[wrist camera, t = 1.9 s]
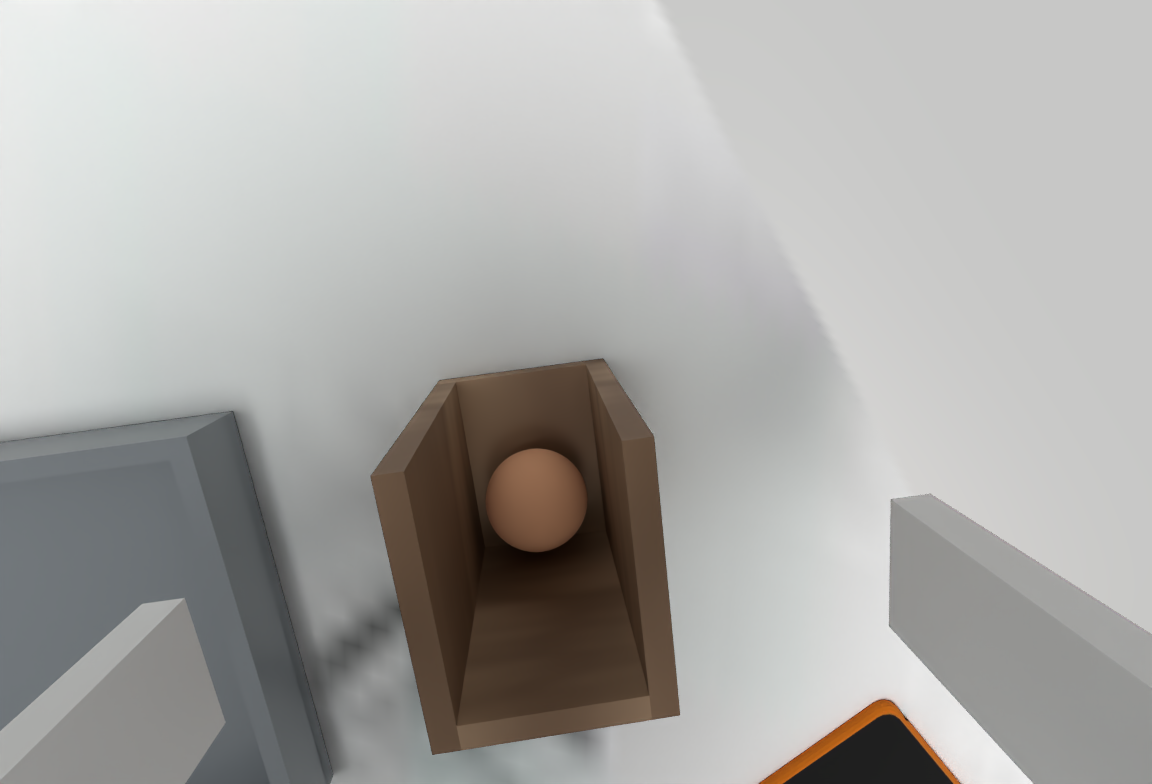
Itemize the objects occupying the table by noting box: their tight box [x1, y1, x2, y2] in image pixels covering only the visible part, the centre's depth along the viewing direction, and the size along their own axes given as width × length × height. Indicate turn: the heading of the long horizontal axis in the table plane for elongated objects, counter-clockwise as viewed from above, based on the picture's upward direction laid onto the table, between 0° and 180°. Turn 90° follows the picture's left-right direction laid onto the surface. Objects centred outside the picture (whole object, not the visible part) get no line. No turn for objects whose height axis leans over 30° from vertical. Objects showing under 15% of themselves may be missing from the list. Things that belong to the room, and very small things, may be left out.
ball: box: [485, 449, 588, 552], centre depth 17 cm, size 3×3×3 cm
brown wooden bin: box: [371, 359, 680, 755], centre depth 15 cm, size 5×6×8 cm
